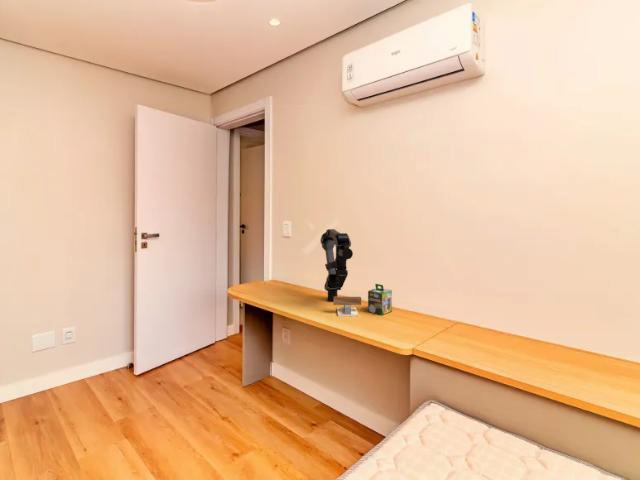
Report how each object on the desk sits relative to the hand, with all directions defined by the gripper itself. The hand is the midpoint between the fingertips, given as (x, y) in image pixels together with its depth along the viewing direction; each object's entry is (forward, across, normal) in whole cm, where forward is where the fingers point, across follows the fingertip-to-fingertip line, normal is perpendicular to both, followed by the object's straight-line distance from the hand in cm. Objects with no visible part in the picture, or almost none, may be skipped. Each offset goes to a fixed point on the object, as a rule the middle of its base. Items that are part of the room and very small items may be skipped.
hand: (340, 285), depth 190 cm
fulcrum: (+12, +10, +3) cm, 16 cm away
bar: (+8, +10, +3) cm, 13 cm away
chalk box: (+12, +8, +20) cm, 25 cm away
